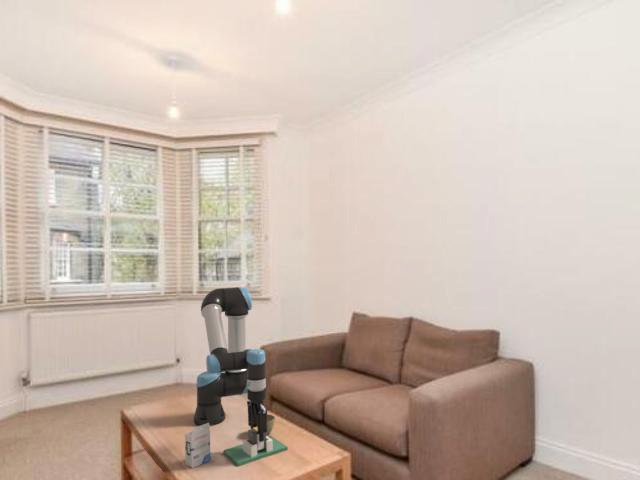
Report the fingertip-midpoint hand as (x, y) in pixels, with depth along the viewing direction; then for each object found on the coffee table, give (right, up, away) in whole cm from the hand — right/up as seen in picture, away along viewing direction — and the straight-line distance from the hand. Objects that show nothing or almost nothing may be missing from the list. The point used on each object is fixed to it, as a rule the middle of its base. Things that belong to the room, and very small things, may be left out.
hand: (257, 446), depth 174 cm
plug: (0, -1, 0) cm, 1 cm away
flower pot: (0, -3, +19) cm, 19 cm away
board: (-1, -3, +2) cm, 3 cm away
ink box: (-22, -3, -6) cm, 24 cm away
